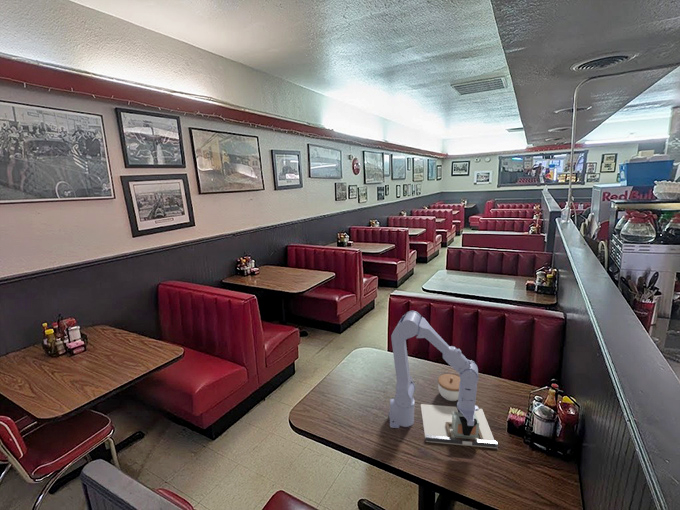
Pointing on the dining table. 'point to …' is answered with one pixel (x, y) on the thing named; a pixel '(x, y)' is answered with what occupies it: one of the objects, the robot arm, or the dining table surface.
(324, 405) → the dining table surface
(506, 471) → the dining table surface
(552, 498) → the dining table surface
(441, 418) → the white square tray
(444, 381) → the lidded jar
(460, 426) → the carton
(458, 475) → the dining table surface
